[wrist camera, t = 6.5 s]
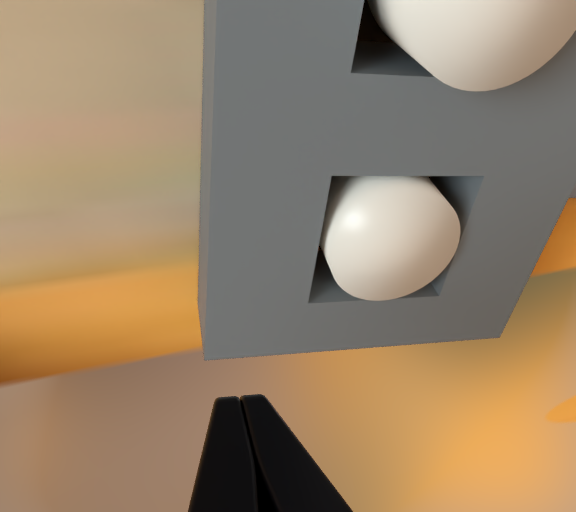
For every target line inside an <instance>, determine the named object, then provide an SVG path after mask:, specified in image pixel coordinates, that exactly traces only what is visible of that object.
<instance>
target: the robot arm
mask: <svg viewBox="0 0 576 512" xmlns="http://www.w3.org/2000/svg"><path fill="white" fill-rule="evenodd" d="M188 512H353V511H352V510H351V508H350V507H349V506H348V504H346V502H345V500H344V499H343V498H342V496H341V495H340V494H339V493H338V492H337V490H336V489H335V487H334V486H333V485H332V483H331V482H330V481H329V479H328V478H327V477H326V475H325V474H324V473H323V472H322V470H321V469H320V468H319V466H318V465H317V464H316V462H315V461H314V460H313V458H312V457H311V456H310V455H309V453H308V452H307V450H306V449H305V448H304V447H303V445H302V444H301V443H300V442H299V440H298V439H297V437H296V436H295V435H294V433H293V432H292V431H291V430H290V428H289V427H288V426H287V424H286V423H285V422H284V420H283V419H282V418H281V416H280V415H279V414H278V412H277V411H276V410H275V408H274V407H273V406H272V405H271V403H270V402H269V401H268V399H267V398H266V397H265V396H263V395H261V394H257V395H244V396H241V397H240V399H239V398H238V397H236V396H231V397H219V398H217V399H216V400H215V402H214V405H213V409H212V413H211V417H210V422H209V426H208V430H207V434H206V438H205V442H204V447H203V451H202V455H201V459H200V463H199V467H198V472H197V476H196V480H195V485H194V488H193V492H192V497H191V501H190V505H189V510H188Z"/></svg>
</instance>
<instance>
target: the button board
mask: <svg viewBox="0 0 576 512" xmlns="http://www.w3.org/2000/svg"><path fill="white" fill-rule="evenodd" d="M363 5H364V0H205V4H204V49H203V94H202V139H201V185H200V230H199V275H198V310H199V318H200V327H201V336H202V345H203V354H204V360H218V359H229V358H230V359H231V358H244V357H256V356H268V355H282V354H295V353H308V352H321V351H334V350H347V349H359V348H373V347H384V346H385V347H386V346H397V345H411V344H423V343H437V342H449V341H463V340H475V339H488V338H499V337H500V336H501V334H502V332H503V330H504V328H505V326H506V324H507V322H508V320H509V318H510V315H511V313H512V312H513V309H514V307H515V305H516V303H517V301H518V299H519V297H520V295H521V293H522V291H523V289H524V287H525V285H526V283H527V281H528V279H529V277H530V275H531V273H532V271H533V269H534V267H535V265H536V263H537V261H538V259H539V257H540V255H541V253H542V251H543V249H544V247H545V245H546V243H547V241H548V239H549V237H550V235H551V233H552V231H553V229H554V227H555V225H556V223H557V221H558V219H559V216H560V214H561V212H562V210H563V208H564V206H565V204H566V202H567V200H568V198H569V196H570V194H571V192H572V190H573V188H574V186H575V184H576V30H575V32H574V33H573V35H572V36H571V37H570V39H569V40H568V41H567V42H566V43H565V45H564V46H563V47H562V48H561V49H560V50H559V51H558V52H557V53H556V54H555V55H554V56H553V57H552V58H551V59H550V60H549V61H548V62H547V63H545V64H544V65H543V66H542V67H541V68H539V69H538V70H536V71H535V72H533V73H532V74H530V75H529V76H527V77H525V78H523V79H522V80H520V81H518V82H516V83H513V84H511V85H508V86H506V87H502V88H499V89H495V90H489V91H465V90H460V89H457V88H453V87H451V86H449V85H447V84H445V83H443V82H441V81H440V80H439V79H437V78H436V77H434V76H433V75H432V74H431V73H430V72H429V71H427V70H426V69H425V68H424V67H423V66H422V65H420V64H419V63H418V62H417V61H416V60H415V59H413V58H412V57H411V56H410V55H409V54H408V53H406V52H405V51H404V50H403V49H402V48H401V47H399V46H398V45H397V44H396V43H387V42H371V41H357V37H358V31H359V26H360V21H361V15H362V10H363ZM332 176H431V177H430V180H431V182H432V183H433V184H434V185H435V186H436V188H437V189H438V190H439V191H440V193H441V194H442V195H443V196H444V198H445V199H446V200H447V201H448V202H449V204H450V205H451V206H452V207H453V209H454V210H455V212H456V214H457V216H458V219H459V222H460V239H459V243H458V247H457V249H456V252H455V254H454V256H453V257H452V259H451V261H450V262H449V264H448V265H447V266H446V268H445V269H444V270H443V271H442V272H441V273H440V274H439V275H438V276H437V277H436V278H435V279H434V280H432V281H431V282H430V283H428V284H427V285H425V286H424V287H422V288H421V289H419V290H417V291H415V292H413V293H410V294H408V295H406V296H403V297H399V298H396V299H391V300H383V301H371V300H364V299H360V298H357V297H354V296H352V295H350V294H348V293H347V292H345V291H344V290H343V289H342V288H341V287H340V286H339V285H338V284H337V282H336V281H335V279H334V277H333V275H332V272H331V270H330V268H329V265H328V263H327V261H326V258H325V256H324V253H323V251H322V250H318V247H319V242H320V236H321V231H322V226H323V220H324V215H325V209H326V204H327V199H328V193H329V188H330V182H331V177H332Z"/></svg>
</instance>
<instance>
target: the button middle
mask: <svg viewBox="0 0 576 512" xmlns="http://www.w3.org/2000/svg"><path fill="white" fill-rule="evenodd" d="M368 4H369V7H370V10H371V13H372V15H373V17H374V19H375V21H376V22H377V24H378V26H379V27H380V28H381V30H382V31H383V32H384V33H385V34H386V35H387V36H388V37H389V38H390V39H391V40H392V41H394V42H395V43H396V44H397V45H398V46H399V47H401V48H402V49H403V50H404V51H405V52H406V53H408V54H409V55H410V56H411V57H412V58H413V59H415V60H416V61H417V62H418V63H419V64H420V65H422V66H423V67H424V68H425V69H426V70H427V71H429V72H430V73H431V74H432V75H433V76H434V77H436V78H437V79H439V80H440V81H441V82H443V83H445V84H447V85H449V86H451V87H453V88H457V89H460V90H465V91H489V90H495V89H499V88H502V87H506V86H508V85H511V84H513V83H516V82H518V81H520V80H522V79H523V78H525V77H527V76H529V75H530V74H532V73H533V72H535V71H536V70H538V69H539V68H541V67H542V66H543V65H544V64H545V63H547V62H548V61H549V60H550V59H551V58H552V57H553V56H554V55H555V54H556V53H557V52H558V51H559V50H560V49H561V48H562V47H563V46H564V45H565V43H566V42H567V41H568V40H569V39H570V37H571V36H572V35H573V33H574V32H575V30H576V0H368Z"/></svg>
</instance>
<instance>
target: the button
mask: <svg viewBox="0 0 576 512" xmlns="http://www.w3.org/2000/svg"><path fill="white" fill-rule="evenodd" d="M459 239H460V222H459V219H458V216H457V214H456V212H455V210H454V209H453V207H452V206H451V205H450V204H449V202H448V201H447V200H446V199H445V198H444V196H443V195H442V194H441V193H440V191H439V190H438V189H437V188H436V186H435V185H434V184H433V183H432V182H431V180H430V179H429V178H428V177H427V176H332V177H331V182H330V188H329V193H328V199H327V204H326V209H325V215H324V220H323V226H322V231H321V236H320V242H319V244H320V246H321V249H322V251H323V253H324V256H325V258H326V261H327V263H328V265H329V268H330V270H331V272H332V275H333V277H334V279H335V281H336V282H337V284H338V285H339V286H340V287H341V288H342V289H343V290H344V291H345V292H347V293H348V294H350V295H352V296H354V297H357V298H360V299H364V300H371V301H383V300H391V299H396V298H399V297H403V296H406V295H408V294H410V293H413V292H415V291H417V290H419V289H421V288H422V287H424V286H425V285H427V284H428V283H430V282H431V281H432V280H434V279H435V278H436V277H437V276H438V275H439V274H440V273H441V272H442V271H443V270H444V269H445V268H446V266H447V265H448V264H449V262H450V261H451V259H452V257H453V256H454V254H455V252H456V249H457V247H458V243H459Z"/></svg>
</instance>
